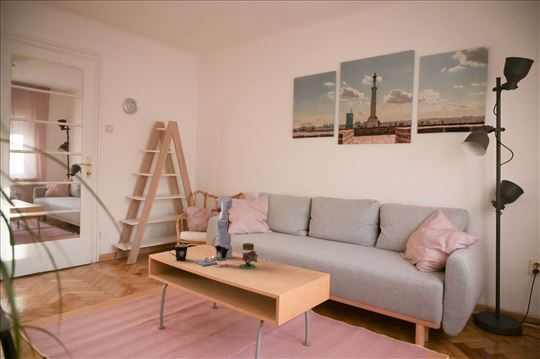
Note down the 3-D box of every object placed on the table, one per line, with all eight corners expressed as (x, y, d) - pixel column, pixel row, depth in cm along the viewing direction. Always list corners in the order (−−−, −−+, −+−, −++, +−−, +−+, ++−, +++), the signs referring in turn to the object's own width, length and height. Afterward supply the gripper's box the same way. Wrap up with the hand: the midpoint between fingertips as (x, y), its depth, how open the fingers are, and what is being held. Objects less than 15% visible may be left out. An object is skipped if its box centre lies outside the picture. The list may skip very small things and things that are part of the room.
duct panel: (208, 260, 251) (208, 254, 251) (217, 264, 242) (217, 258, 242) (194, 262, 244) (194, 256, 244) (202, 266, 235) (202, 260, 235)
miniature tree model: (255, 269, 232) (256, 246, 231) (236, 268, 234) (237, 245, 234) (259, 265, 243) (260, 243, 243) (241, 263, 246) (242, 241, 245)
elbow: (222, 258, 244) (222, 249, 244) (227, 260, 240) (227, 251, 240) (210, 260, 238) (210, 251, 238) (214, 262, 234) (214, 253, 234)
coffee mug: (189, 258, 254) (189, 244, 254) (184, 261, 246) (185, 247, 245) (173, 257, 255) (173, 243, 255) (168, 260, 247) (168, 246, 246)
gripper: (211, 235, 243) (210, 255, 244) (222, 239, 232) (222, 260, 232) (220, 235, 248) (219, 254, 248) (231, 238, 237) (231, 259, 237)
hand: (221, 257), depth 241 cm, fingers closed on elbow, 5 cm apart
